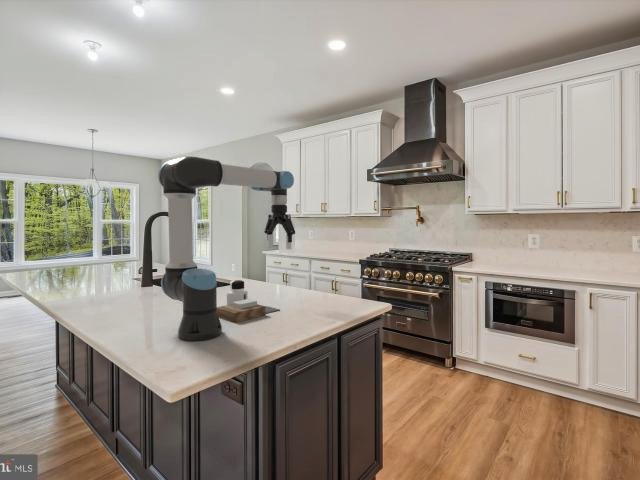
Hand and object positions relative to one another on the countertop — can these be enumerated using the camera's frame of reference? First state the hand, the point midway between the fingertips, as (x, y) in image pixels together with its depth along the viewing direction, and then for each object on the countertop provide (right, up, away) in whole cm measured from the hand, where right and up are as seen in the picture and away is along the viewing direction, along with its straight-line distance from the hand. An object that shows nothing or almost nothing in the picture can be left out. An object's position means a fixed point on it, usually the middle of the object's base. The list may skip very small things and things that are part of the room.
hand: (279, 248), depth 175 cm
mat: (-6, -28, -8) cm, 30 cm away
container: (-20, -28, -3) cm, 35 cm away
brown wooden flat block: (-15, -29, -18) cm, 37 cm away
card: (-13, -25, -16) cm, 33 cm away
